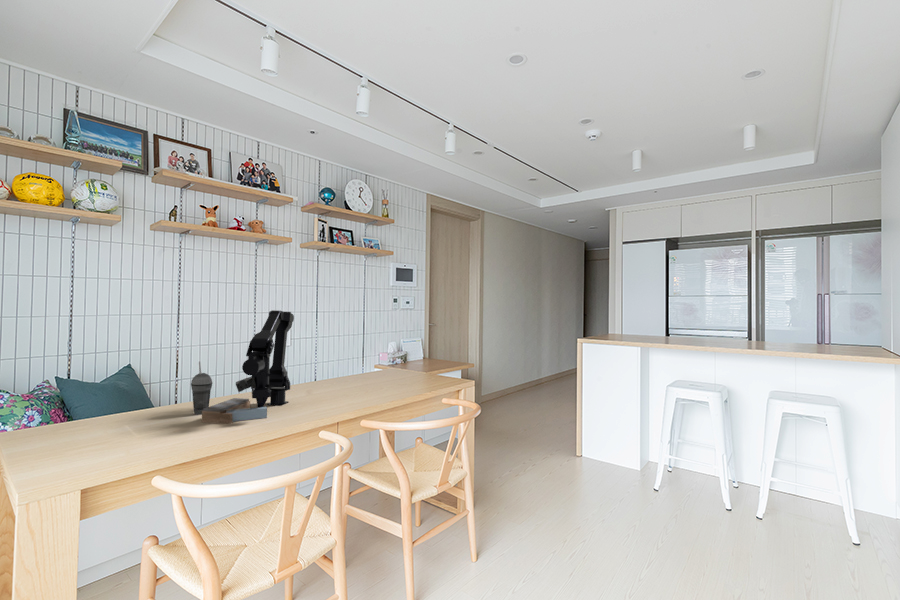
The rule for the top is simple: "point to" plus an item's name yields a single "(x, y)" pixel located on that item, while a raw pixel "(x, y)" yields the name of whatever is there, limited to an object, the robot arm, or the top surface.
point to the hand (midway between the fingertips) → (259, 411)
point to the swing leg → (248, 413)
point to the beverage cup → (201, 391)
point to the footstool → (224, 410)
